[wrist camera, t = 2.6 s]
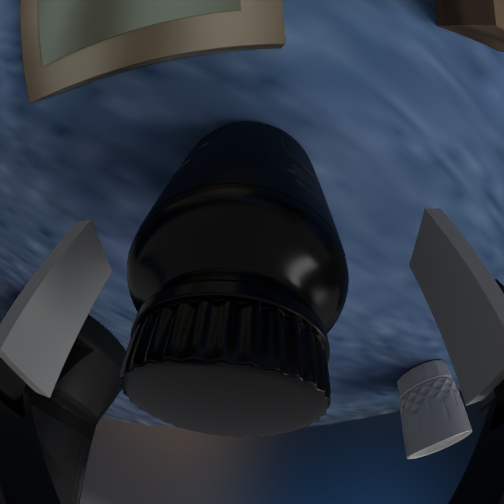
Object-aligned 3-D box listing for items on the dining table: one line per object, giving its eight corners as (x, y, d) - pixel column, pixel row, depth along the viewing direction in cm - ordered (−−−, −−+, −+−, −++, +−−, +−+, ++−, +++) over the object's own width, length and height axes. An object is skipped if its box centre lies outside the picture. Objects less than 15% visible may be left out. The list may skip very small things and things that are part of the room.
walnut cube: (436, 26, 9) (496, 25, 5) (426, -46, 6) (477, -65, 2) (498, 51, 9) (555, 64, 5) (491, -16, 6) (544, -17, 2)
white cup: (390, 371, 27) (408, 453, 19) (453, 347, 25) (479, 424, 17) (392, 395, 31) (405, 462, 23) (445, 376, 29) (463, 440, 21)
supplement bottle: (176, 126, 13) (14, 299, 4) (312, 117, 13) (440, 296, 3) (196, 237, 17) (142, 436, 8) (310, 233, 17) (347, 442, 7)
